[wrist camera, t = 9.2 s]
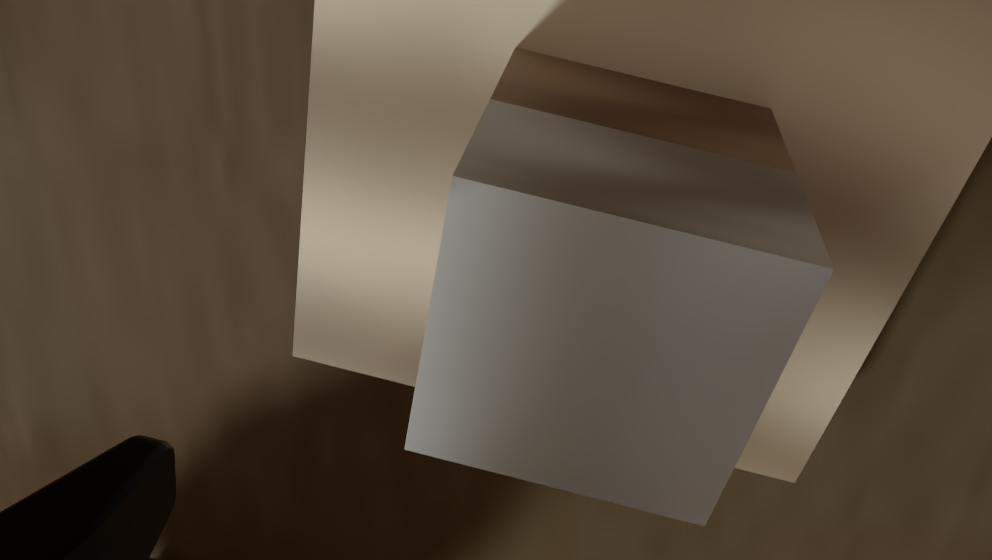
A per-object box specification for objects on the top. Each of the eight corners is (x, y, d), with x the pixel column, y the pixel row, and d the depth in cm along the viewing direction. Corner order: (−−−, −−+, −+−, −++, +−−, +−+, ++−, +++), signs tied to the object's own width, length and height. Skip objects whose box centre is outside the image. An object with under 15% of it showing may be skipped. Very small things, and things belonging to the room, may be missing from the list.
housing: (770, 108, 15) (834, 268, 10) (687, 317, 18) (704, 526, 13) (515, 47, 15) (452, 175, 10) (471, 264, 18) (403, 449, 13)
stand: (780, 416, 22) (794, 483, 20) (325, 302, 22) (292, 355, 20) (1043, -88, 15) (1108, -69, 13) (373, -242, 15) (330, -246, 13)
